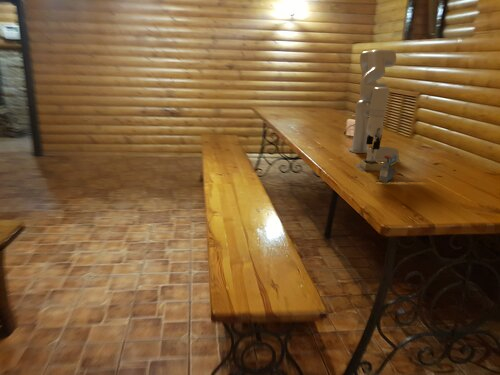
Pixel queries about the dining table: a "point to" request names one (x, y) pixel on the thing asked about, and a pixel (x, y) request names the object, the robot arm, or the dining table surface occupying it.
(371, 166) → the square socket board
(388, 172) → the label tape box
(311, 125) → the dining table surface
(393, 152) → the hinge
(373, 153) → the beige cylindrical canister
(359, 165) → the base board
